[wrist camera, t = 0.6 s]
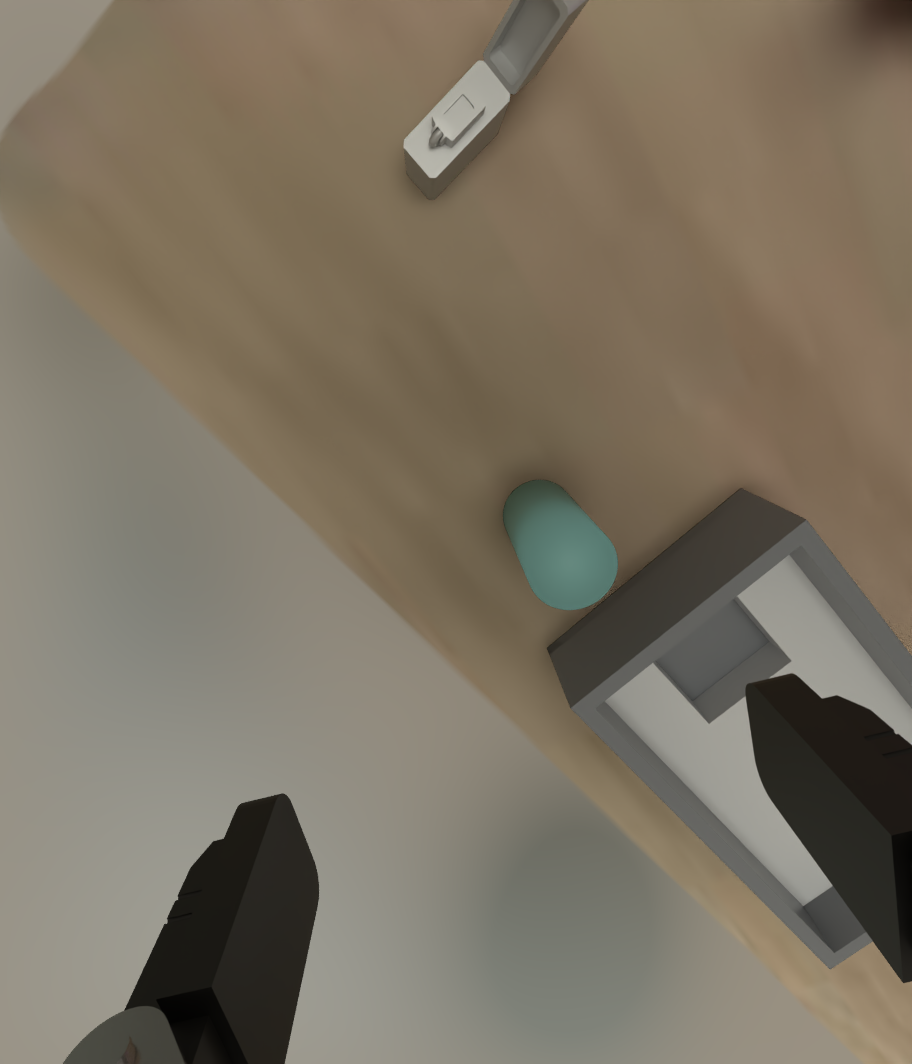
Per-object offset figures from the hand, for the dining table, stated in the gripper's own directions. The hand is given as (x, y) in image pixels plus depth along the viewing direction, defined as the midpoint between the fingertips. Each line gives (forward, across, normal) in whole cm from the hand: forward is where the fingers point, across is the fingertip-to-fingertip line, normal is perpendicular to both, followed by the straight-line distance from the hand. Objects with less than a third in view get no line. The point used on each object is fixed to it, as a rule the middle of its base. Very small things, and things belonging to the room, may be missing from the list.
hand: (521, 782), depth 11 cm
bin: (+23, -13, +16) cm, 31 cm away
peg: (+23, -3, +2) cm, 23 cm away
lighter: (+23, -4, -16) cm, 28 cm away
